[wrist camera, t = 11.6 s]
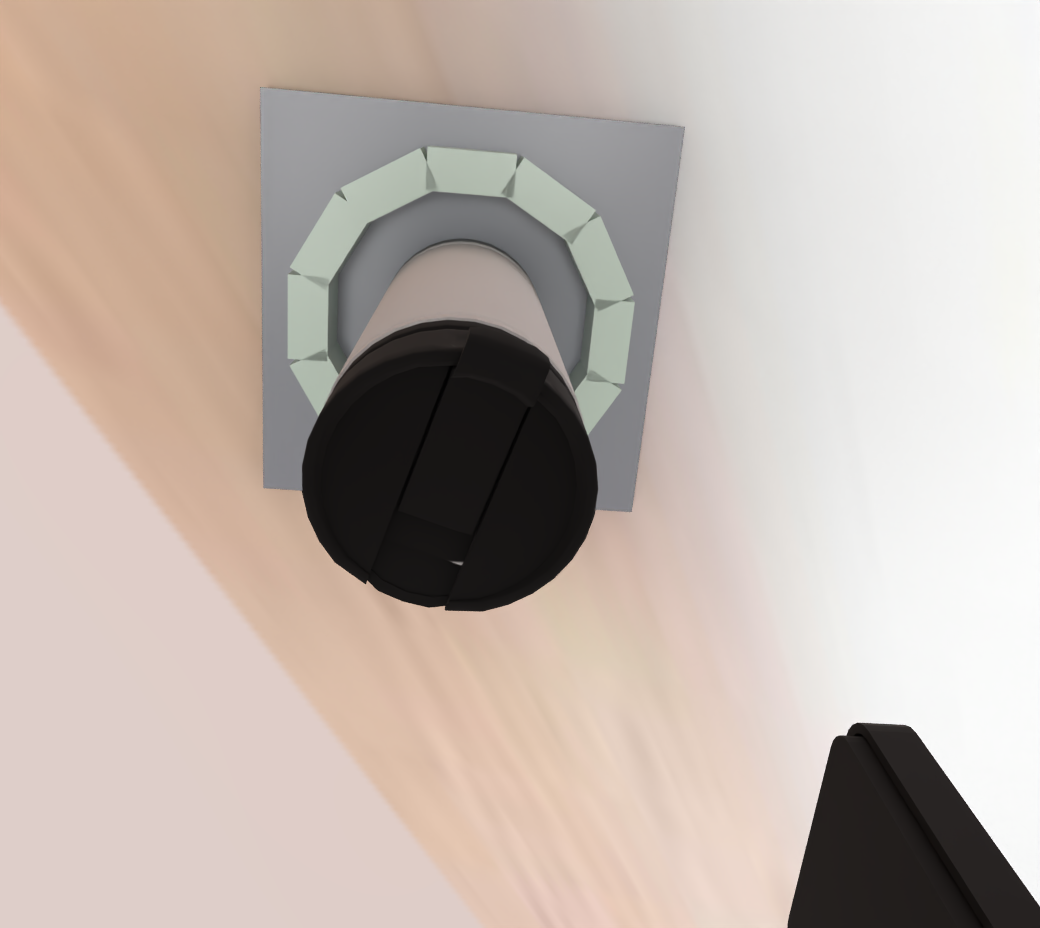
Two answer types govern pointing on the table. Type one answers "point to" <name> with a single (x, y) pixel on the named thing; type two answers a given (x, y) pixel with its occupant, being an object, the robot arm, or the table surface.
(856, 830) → the robot arm
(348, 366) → the travel mug
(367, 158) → the cup dock
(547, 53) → the table surface
